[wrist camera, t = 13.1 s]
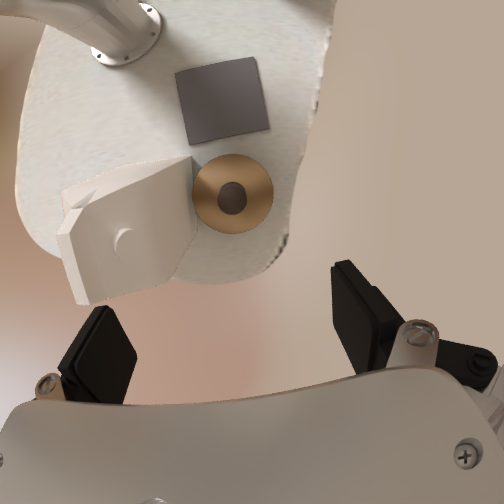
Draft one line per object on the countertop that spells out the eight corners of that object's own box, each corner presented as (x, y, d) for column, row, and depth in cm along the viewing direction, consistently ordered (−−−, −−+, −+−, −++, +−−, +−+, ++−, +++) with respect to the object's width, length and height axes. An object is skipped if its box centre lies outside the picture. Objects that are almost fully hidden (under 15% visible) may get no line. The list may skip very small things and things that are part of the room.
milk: (122, 165, 38) (7, 203, 14) (191, 155, 39) (123, 177, 15) (132, 235, 43) (48, 331, 19) (197, 230, 43) (157, 338, 19)
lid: (184, 164, 35) (177, 167, 30) (264, 147, 34) (268, 147, 30) (203, 238, 39) (199, 251, 35) (278, 223, 39) (284, 233, 34)
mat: (175, 74, 33) (174, 73, 33) (253, 57, 33) (253, 56, 32) (189, 145, 38) (189, 145, 37) (268, 128, 38) (269, 128, 37)
